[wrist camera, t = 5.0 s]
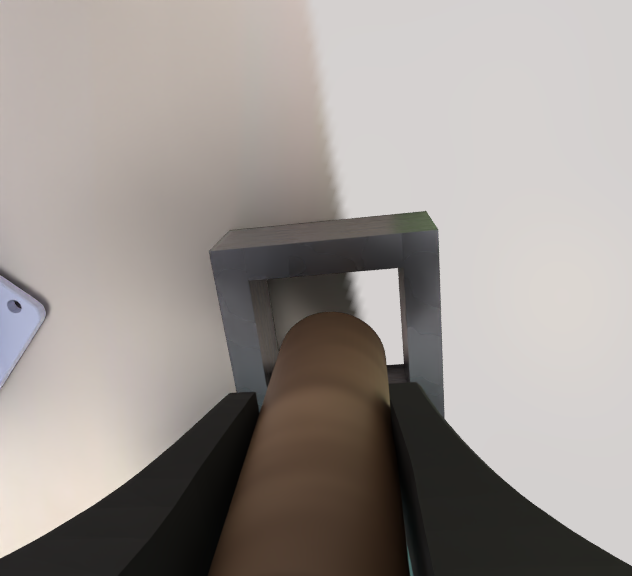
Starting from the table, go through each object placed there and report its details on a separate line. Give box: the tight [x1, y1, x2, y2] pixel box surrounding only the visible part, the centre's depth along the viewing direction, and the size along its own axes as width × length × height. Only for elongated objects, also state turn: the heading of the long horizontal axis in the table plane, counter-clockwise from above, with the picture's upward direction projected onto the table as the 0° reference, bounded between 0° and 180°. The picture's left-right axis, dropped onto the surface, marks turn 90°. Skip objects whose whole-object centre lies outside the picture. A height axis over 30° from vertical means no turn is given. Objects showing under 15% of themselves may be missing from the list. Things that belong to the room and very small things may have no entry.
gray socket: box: [209, 211, 444, 418], centre depth 16 cm, size 6×6×2 cm
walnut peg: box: [208, 312, 410, 576], centre depth 10 cm, size 3×3×8 cm
